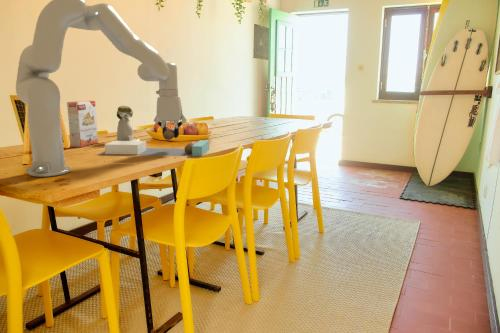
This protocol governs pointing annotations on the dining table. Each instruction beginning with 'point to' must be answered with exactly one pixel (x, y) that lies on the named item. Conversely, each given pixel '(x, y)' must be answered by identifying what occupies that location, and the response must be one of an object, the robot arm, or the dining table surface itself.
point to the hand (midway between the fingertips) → (170, 137)
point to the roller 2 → (189, 147)
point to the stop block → (200, 148)
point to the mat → (159, 152)
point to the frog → (124, 125)
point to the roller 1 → (169, 134)
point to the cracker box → (82, 123)
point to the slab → (125, 147)
